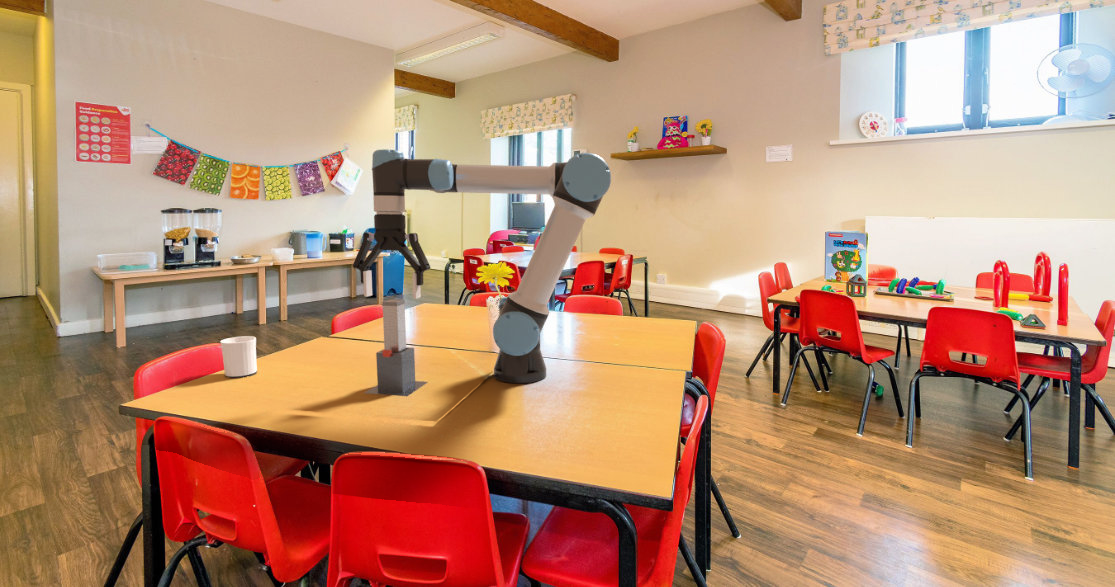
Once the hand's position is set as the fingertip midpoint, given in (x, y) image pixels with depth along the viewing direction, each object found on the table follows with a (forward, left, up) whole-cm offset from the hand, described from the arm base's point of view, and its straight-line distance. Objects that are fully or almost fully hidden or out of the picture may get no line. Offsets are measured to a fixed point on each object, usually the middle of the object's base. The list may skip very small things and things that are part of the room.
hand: (392, 297), depth 139 cm
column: (0, 0, -24) cm, 24 cm away
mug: (+52, -5, -25) cm, 58 cm away
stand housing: (0, 0, -25) cm, 25 cm away
